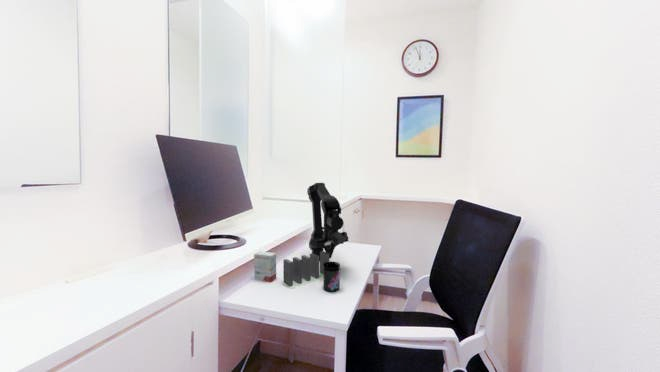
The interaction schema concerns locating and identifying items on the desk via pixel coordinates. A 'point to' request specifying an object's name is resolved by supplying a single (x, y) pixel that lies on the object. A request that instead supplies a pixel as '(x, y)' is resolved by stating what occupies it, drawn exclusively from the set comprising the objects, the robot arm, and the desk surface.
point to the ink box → (265, 266)
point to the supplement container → (331, 276)
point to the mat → (305, 281)
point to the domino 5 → (323, 260)
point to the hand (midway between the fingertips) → (329, 258)
